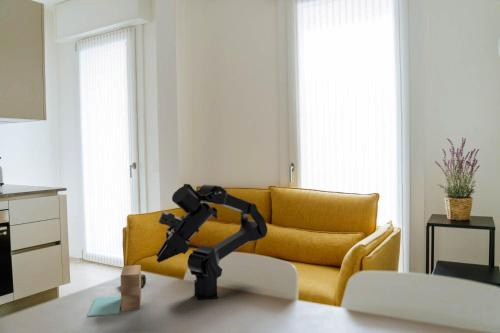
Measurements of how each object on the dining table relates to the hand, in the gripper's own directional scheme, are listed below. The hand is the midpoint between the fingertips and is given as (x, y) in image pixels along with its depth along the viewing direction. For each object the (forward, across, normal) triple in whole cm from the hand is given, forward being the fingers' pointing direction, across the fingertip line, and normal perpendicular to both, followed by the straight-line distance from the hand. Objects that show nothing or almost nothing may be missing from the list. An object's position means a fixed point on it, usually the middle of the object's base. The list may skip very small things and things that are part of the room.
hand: (157, 259), depth 120 cm
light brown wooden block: (+14, 0, +4) cm, 15 cm away
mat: (+19, 0, -2) cm, 19 cm away
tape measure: (+15, -17, +4) cm, 22 cm away
